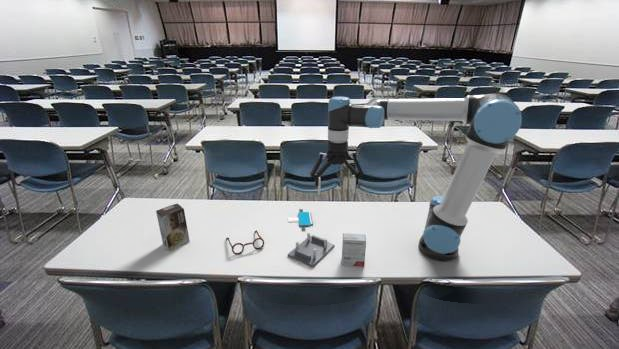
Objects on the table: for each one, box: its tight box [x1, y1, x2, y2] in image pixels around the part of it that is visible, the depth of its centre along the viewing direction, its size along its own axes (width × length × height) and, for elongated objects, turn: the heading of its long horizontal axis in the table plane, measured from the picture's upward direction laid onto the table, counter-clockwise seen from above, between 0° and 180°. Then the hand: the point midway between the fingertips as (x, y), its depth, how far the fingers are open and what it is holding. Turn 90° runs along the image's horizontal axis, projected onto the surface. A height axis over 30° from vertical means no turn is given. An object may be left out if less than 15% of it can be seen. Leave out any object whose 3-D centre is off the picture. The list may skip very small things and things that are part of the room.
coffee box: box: [155, 203, 190, 251], centre depth 133 cm, size 9×6×16 cm
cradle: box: [287, 232, 335, 268], centre depth 130 cm, size 12×16×5 cm
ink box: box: [341, 232, 367, 268], centre depth 123 cm, size 9×5×12 cm, turn 84°
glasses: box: [225, 230, 265, 255], centre depth 135 cm, size 13×13×5 cm
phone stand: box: [287, 208, 314, 232], centre depth 154 cm, size 20×12×2 cm, turn 5°
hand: (336, 192), depth 127 cm, fingers open, 13 cm apart
